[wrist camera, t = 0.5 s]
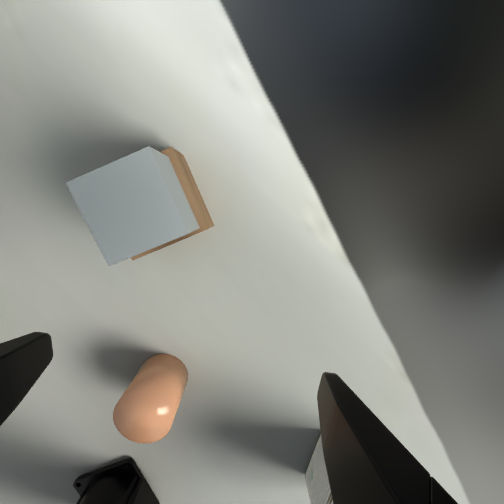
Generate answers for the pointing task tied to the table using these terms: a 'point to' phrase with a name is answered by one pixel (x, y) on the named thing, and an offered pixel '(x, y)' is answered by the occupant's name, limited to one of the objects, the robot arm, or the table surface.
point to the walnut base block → (191, 195)
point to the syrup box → (318, 477)
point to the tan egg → (151, 399)
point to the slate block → (133, 204)
